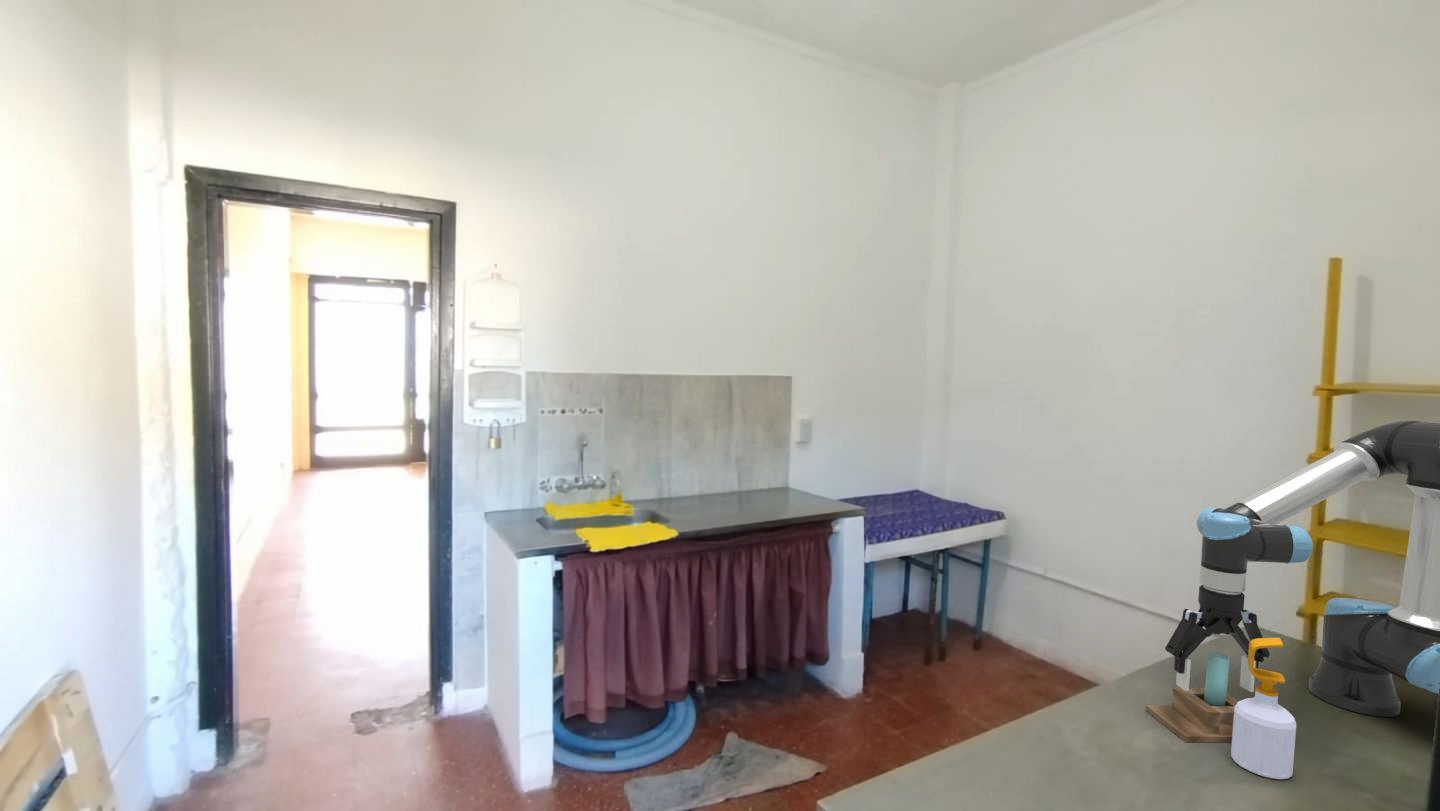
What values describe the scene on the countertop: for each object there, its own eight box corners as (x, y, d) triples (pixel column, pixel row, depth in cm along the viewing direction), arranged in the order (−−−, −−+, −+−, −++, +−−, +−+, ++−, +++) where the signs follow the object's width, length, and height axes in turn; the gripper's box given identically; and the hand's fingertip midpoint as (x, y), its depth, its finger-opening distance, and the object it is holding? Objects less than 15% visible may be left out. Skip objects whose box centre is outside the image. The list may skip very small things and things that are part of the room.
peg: (1214, 716, 140) (1220, 652, 139) (1227, 725, 136) (1234, 660, 135) (1197, 715, 140) (1204, 652, 139) (1210, 725, 136) (1217, 660, 135)
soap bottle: (1297, 786, 119) (1308, 653, 117) (1233, 769, 123) (1243, 641, 122) (1287, 762, 126) (1297, 636, 125) (1227, 746, 131) (1236, 625, 129)
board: (1235, 711, 144) (1237, 686, 144) (1283, 743, 132) (1285, 715, 132) (1145, 710, 144) (1147, 685, 144) (1185, 742, 132) (1187, 714, 132)
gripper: (1265, 583, 140) (1258, 680, 142) (1150, 581, 140) (1143, 678, 141) (1297, 595, 133) (1288, 698, 134) (1174, 593, 132) (1167, 696, 134)
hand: (1214, 688), depth 138 cm, fingers open, 13 cm apart
